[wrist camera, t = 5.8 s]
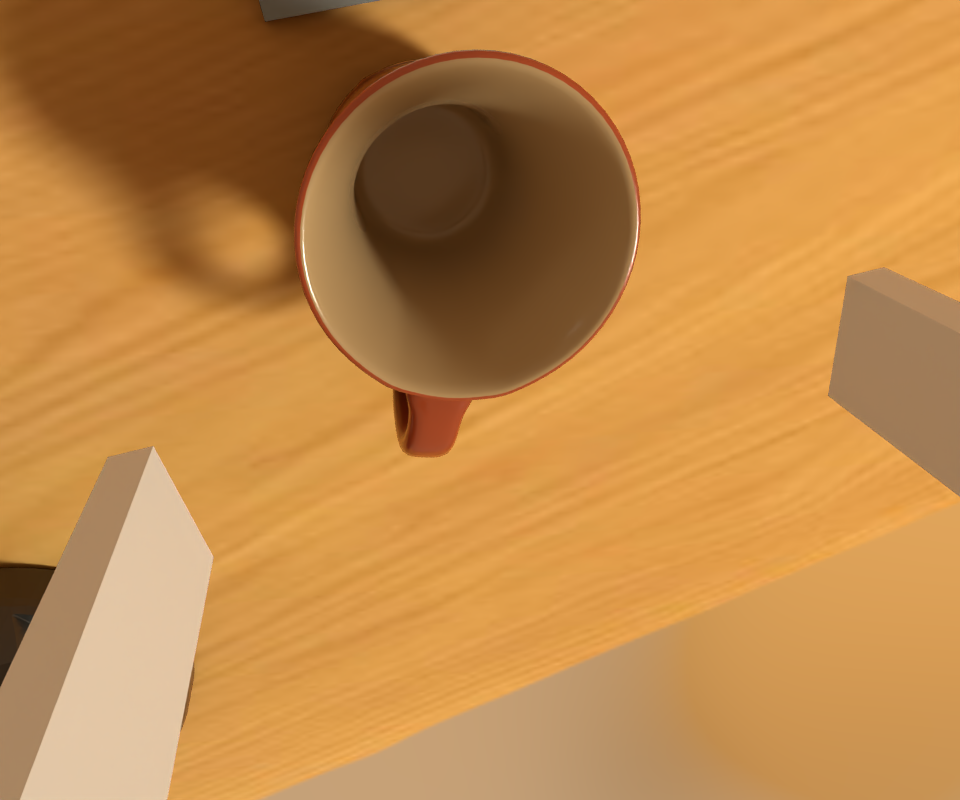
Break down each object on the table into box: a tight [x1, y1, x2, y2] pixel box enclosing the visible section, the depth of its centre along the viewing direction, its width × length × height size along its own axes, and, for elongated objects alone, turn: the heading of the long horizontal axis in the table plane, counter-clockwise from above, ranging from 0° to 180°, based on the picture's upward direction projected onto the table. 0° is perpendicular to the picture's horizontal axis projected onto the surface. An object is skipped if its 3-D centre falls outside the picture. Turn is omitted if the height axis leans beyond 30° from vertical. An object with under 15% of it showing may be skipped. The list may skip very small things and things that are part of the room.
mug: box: [294, 50, 641, 457], centre depth 21 cm, size 12×9×10 cm
